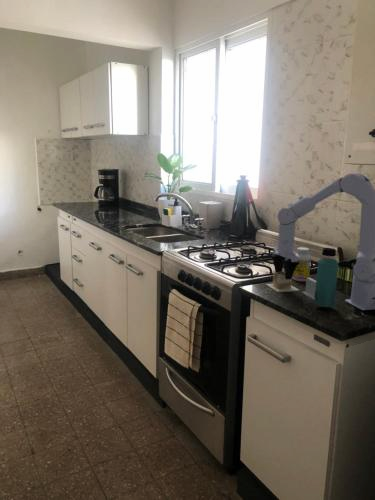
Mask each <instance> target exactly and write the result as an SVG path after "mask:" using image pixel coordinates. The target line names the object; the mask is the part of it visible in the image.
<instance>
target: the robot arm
mask: <svg viewBox="0 0 375 500" xmlns="http://www.w3.org/2000/svg"><path fill="white" fill-rule="evenodd" d="M339 193H345V194H348V195H350V196H353V197H354V198H355V199H356V200H357V201H359V203H361V209H360V222H359V223H360V226H359V243H358V244H359V245H358V253H357V256H356V260H355V261H356V262H355V264H354V265H353V268H352V273H353V277H352V286H351V293H350V299H349V298H347V299H344V302H346V303H348V304H350V305H351V306H354V307H355V308H357V309H359V310H361V311H370V310H375V188H374V186H373V184H372V182H371V180H370V179H369V178H368V177H367V176H365V175H364V174H362V173H349V174H345V175H344V176H343V177H340V178H337V179H336V180H334V181H332V182H331V183H329V184H328V185H326V186H325V187H323V188H322V189H320V190H319V191H316V193H314V194H313V195H311V196H309V195H304V196H303V195H300V196H299V197H298V199H297V200H296V201H295V202H293V203H289V204H288V205H287V207H282V208H281V209H280V210H278V213H277V221H278V222H279V224H278V225H279V226H278V236H277V238H278V239H277V248H276V247H274V248H273V251H272V252H273V253H272V254H271V255H270V257H271V260H272V263H273V266H274V272H283V268H284V272H285V279H292V276H293V273H294V271H295V269H296V267H297V265H298V264H299V261H297V259H298V257H297V256H296V255H295V254H296V253H295V252H294V249H295V248H294V246H295V235H296V223H297V221H298V219H300V218H303V217H304V216H305V215H307V214H309V213H310V212H312V211H315V208H316V205H317V204H318V203H320V202H323V201H325V200H326V199H328V198H330V197H331V196H333V195H335V194H339ZM292 280H293V279H292Z"/></svg>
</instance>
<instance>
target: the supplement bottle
mask: <svg viewBox="0 0 375 500" xmlns="http://www.w3.org/2000/svg"><path fill="white" fill-rule="evenodd" d="M309 253H310V248H308V247H303V246H302V247H299V246H298V247H297V248H296V253H294V254H295V255H296V256H297V257H298V259H297V261H299V264H298V265H297V267H296V269H295V271H294V273H293V276H292V280H294V281H296V282H306V279H307V278H310V270H311V263H312V262H311V260H312V257H311V255H310V254H309Z"/></svg>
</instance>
